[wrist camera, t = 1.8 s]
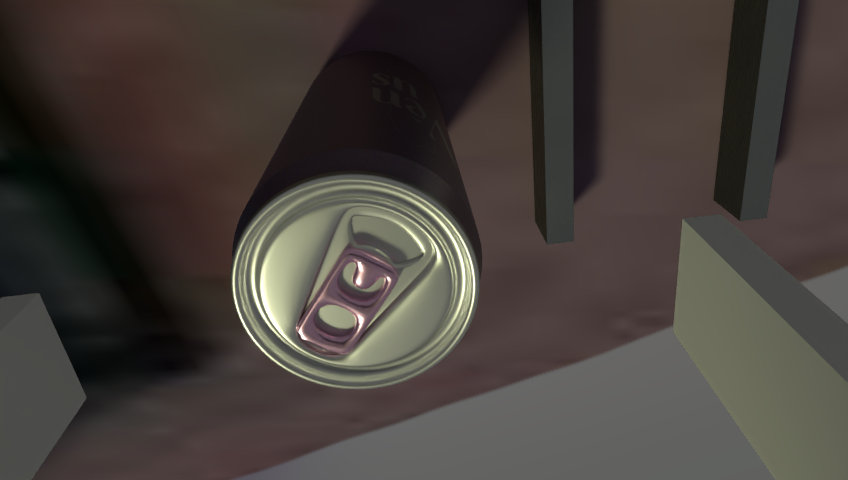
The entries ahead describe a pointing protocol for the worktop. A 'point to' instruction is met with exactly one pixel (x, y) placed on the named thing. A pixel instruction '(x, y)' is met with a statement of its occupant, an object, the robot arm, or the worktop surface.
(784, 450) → the robot arm
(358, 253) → the beverage can
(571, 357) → the worktop surface
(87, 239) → the worktop surface
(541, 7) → the lane
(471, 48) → the worktop surface
